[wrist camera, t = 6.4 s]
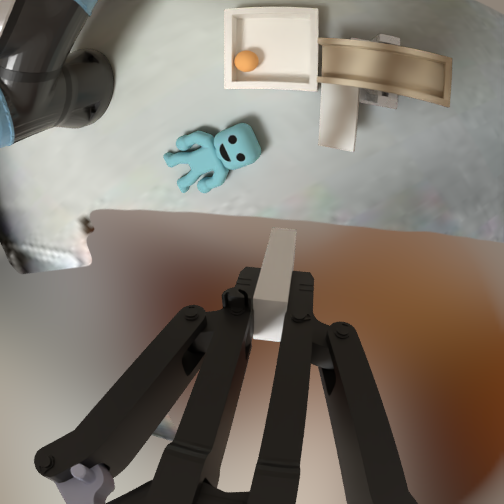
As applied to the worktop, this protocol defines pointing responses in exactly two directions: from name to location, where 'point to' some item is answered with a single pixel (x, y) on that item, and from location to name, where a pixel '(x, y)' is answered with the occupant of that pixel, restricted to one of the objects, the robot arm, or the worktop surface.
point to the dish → (272, 47)
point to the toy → (214, 155)
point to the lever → (373, 82)
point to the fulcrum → (374, 95)
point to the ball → (246, 61)
